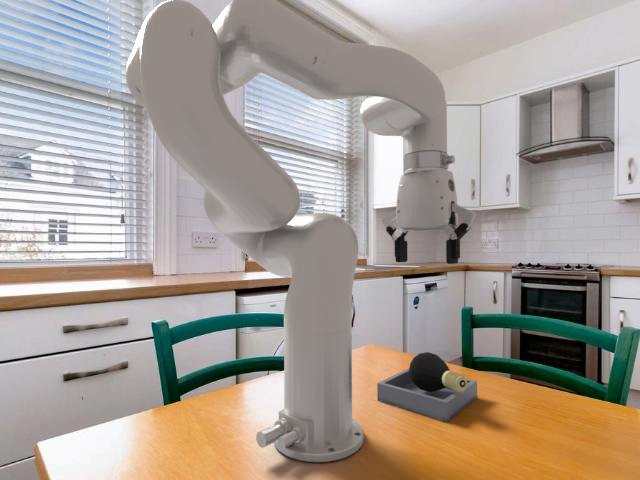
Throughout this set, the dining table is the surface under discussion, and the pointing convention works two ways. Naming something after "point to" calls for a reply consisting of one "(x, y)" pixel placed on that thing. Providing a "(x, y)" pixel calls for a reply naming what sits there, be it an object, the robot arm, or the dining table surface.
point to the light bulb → (434, 374)
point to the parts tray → (425, 397)
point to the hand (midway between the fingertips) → (425, 262)
